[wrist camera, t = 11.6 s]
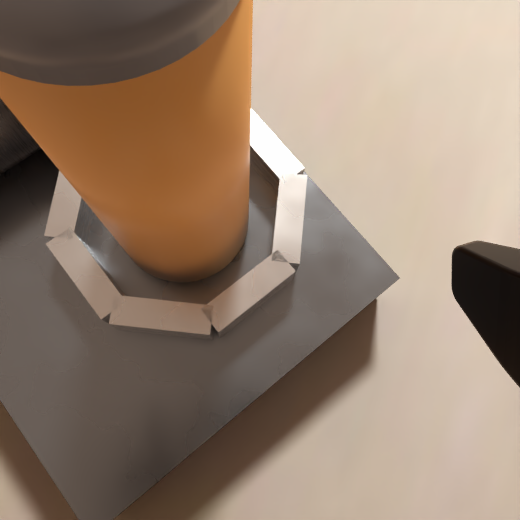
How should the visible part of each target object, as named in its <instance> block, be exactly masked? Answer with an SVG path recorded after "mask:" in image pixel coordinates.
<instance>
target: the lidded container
mask: <svg viewBox="0 0 520 520" xmlns="http://www.w3.org/2000/svg"><path fill="white" fill-rule="evenodd" d="M252 13H253V0H0V98H1V99H2V101H3V102H4V103H5V104H6V105H7V107H8V108H9V109H10V110H11V112H12V113H13V114H14V115H15V117H16V118H17V119H18V120H19V121H20V123H21V124H22V125H23V126H24V128H25V129H26V130H27V131H28V132H29V134H30V135H31V136H32V137H33V139H34V140H35V141H36V142H37V143H38V145H39V146H40V147H41V148H42V150H43V151H44V152H45V153H46V155H47V156H48V157H49V158H50V159H51V161H52V162H53V163H54V164H55V166H56V167H57V168H58V169H59V170H60V172H61V173H62V174H63V175H64V177H65V178H66V179H67V180H68V181H69V183H70V184H71V185H72V186H73V188H74V189H75V190H76V191H77V193H78V194H79V195H80V196H81V197H82V199H83V200H84V201H85V202H86V204H87V205H88V206H89V207H90V208H91V210H92V211H93V212H94V213H95V215H96V216H97V217H98V218H99V219H100V221H101V222H102V223H103V224H104V226H105V227H106V228H107V229H108V231H109V232H110V233H111V234H112V235H113V237H114V238H115V239H116V240H117V242H118V243H119V244H120V245H121V246H122V248H123V249H124V250H125V251H126V253H127V254H128V255H129V256H130V257H131V259H132V260H133V261H134V262H135V263H136V264H137V265H138V266H139V267H140V268H141V269H143V270H144V271H145V272H147V273H149V274H151V275H152V276H154V277H157V278H160V279H162V280H167V281H171V282H192V281H198V280H201V279H205V278H207V277H210V276H212V275H214V274H216V273H217V272H219V271H221V270H222V269H223V268H225V267H226V266H227V265H228V264H229V263H230V262H231V261H232V260H233V259H234V258H235V257H236V255H237V254H238V253H239V251H240V249H241V248H242V246H243V243H244V241H245V239H246V235H247V231H248V223H249V175H250V121H251V67H252Z"/></svg>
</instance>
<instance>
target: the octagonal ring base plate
mask: <svg viewBox="0 0 520 520" xmlns="http://www.w3.org/2000/svg"><path fill="white" fill-rule="evenodd" d="M304 169H305V168H304V167H303V165H302V164H301V163H300V162H299V161H298V160H297V159H296V158H295V157H294V155H293V154H292V153H291V152H290V151H289V150H288V149H287V148H286V147H285V145H284V144H283V143H282V142H281V141H280V140H279V139H278V138H277V137H276V135H275V134H274V133H273V132H272V131H271V130H270V129H269V128H268V127H267V125H266V124H265V123H264V122H263V121H262V120H261V119H260V118H259V117H258V115H257V114H256V113H255V112H254V111H253V110H252V109H251V121H250V175H249V223H248V231H247V235H246V239H245V241H244V243H243V246H242V248H241V249H240V251H239V253H238V254H237V255H236V257H235V258H234V259H233V260H232V261H231V262H230V263H229V264H228V265H227V266H226V267H225V268H223V269H222V270H221V271H219V272H217V273H216V274H214V275H212V276H210V277H207V278H205V279H201V280H198V281H192V282H171V281H167V280H162V279H160V278H157V277H154V276H152V275H151V274H149V273H147V272H145V271H144V270H143V269H141V268H140V267H139V266H138V265H137V264H136V263H135V262H134V261H133V260H132V259H131V257H130V256H129V255H128V254H127V253H126V251H125V250H124V249H123V248H122V246H121V245H120V244H119V243H118V242H117V240H116V239H115V238H114V237H113V235H112V234H111V233H110V232H109V231H108V229H107V228H106V227H105V226H104V224H103V223H102V222H101V221H100V219H99V218H98V217H97V216H96V215H95V213H94V212H93V211H92V210H91V208H90V207H89V206H88V205H87V204H86V202H85V201H84V200H83V199H82V197H81V196H80V195H79V194H78V193H77V191H76V190H75V189H74V188H73V186H72V185H71V184H70V183H69V181H68V180H67V179H66V178H65V177H64V175H63V174H62V173H61V172H60V170H59V169H58V168H57V167H56V166H55V164H54V163H53V162H52V161H51V159H50V158H49V157H48V156H47V155H46V153H45V152H44V151H43V150H42V148H41V147H40V146H39V145H38V143H37V142H36V141H35V140H34V139H33V137H32V136H31V135H30V134H29V132H28V131H27V130H26V129H25V128H24V126H23V125H22V124H21V123H20V121H19V120H18V119H17V118H16V117H15V115H14V114H13V113H12V112H11V110H10V109H9V108H8V107H7V105H6V104H5V103H4V102H3V101H2V99H1V98H0V401H1V402H2V404H3V405H4V407H5V408H6V410H7V411H8V413H9V414H10V416H11V417H12V419H13V420H14V422H15V424H16V425H17V427H18V428H19V430H20V431H21V433H22V434H23V436H24V437H25V439H26V440H27V442H28V443H29V445H30V446H31V448H32V449H33V451H34V452H35V454H36V456H37V457H38V459H39V460H40V462H41V463H42V465H43V466H44V468H45V469H46V471H47V472H48V474H49V475H50V477H51V478H52V480H53V481H54V483H55V484H56V486H57V488H58V489H59V491H60V492H61V494H62V495H63V497H64V498H65V500H66V501H67V503H68V504H69V506H70V507H71V509H72V510H73V512H74V513H75V515H76V516H77V518H78V520H113V519H114V518H115V517H117V516H118V515H119V514H120V513H121V512H122V511H124V510H125V509H126V508H127V507H128V506H130V505H131V504H132V503H133V502H134V501H136V500H137V499H138V498H139V497H140V496H142V495H143V494H144V493H145V492H146V491H147V490H149V489H150V488H151V487H152V486H153V485H155V484H156V483H157V482H158V481H159V480H161V479H162V478H163V477H164V476H165V475H166V474H168V473H169V472H170V471H171V470H172V469H174V468H175V467H176V466H177V465H178V464H180V463H181V462H182V461H183V460H184V459H185V458H187V457H188V456H189V455H190V454H191V453H193V452H194V451H195V450H196V449H197V448H199V447H200V446H201V445H202V444H203V443H204V442H206V441H207V440H208V439H209V438H210V437H212V436H213V435H214V434H215V433H216V432H218V431H219V430H220V429H221V428H222V427H223V426H225V425H226V424H227V423H228V422H229V421H231V420H232V419H233V418H234V417H235V416H237V415H238V414H239V413H240V412H241V411H243V410H244V409H245V408H246V407H247V406H248V405H250V404H251V403H252V402H253V401H254V400H256V399H257V398H258V397H259V396H260V395H262V394H263V393H264V392H265V391H266V390H267V389H269V388H270V387H271V386H272V385H273V384H275V383H276V382H277V381H278V380H279V379H281V378H282V377H283V376H284V375H285V374H286V373H288V372H289V371H290V370H291V369H292V368H294V367H295V366H296V365H297V364H298V363H300V362H301V361H302V360H303V359H304V358H305V357H307V356H308V355H309V354H310V353H311V352H313V351H314V350H315V349H316V348H317V347H319V346H320V345H321V344H322V343H323V342H324V341H326V340H327V339H328V338H329V337H330V336H332V335H333V334H334V333H335V332H336V331H338V330H339V329H340V328H341V327H342V326H344V325H345V324H346V323H347V322H348V321H349V320H351V319H352V318H353V317H354V316H355V315H357V314H358V313H359V312H360V311H361V310H363V309H364V308H365V307H366V306H367V305H368V304H370V303H371V302H372V301H373V300H374V299H376V298H377V297H378V296H379V295H380V294H382V293H383V292H384V291H385V290H386V289H387V288H389V287H390V286H391V285H392V284H393V283H395V282H396V281H397V280H398V279H399V277H398V275H397V274H396V273H395V272H394V271H393V270H392V269H391V268H390V267H389V265H388V264H387V263H386V262H385V261H384V260H383V259H382V258H381V256H380V255H379V254H378V253H377V252H376V251H375V250H374V249H373V248H372V246H371V245H370V244H369V243H368V242H367V241H366V240H365V239H364V238H363V236H362V235H361V234H360V233H359V232H358V231H357V230H356V229H355V227H354V226H353V225H352V224H351V223H350V222H349V221H348V220H347V219H346V217H345V216H344V215H343V214H342V213H341V212H340V211H339V210H338V209H337V207H336V206H335V205H334V204H333V203H332V202H331V201H330V200H329V199H328V197H327V196H326V195H325V194H324V193H323V192H322V191H321V190H320V188H319V187H318V186H317V185H316V184H315V183H314V182H313V181H312V180H311V178H310V177H309V176H308V175H307V174H306V173H305V172H304Z"/></svg>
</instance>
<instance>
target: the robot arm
mask: <svg viewBox="0 0 520 520" xmlns="http://www.w3.org/2000/svg"><path fill="white" fill-rule="evenodd" d="M452 292H453V295H454V297H455V299H456V301H457V302H458V304H459V305H460V307H461V308H462V310H463V311H464V312H465V314H466V315H467V317H468V318H469V320H470V321H471V323H472V324H473V326H474V327H475V328H476V330H477V331H478V333H479V334H480V336H481V337H482V339H483V340H484V341H485V343H486V344H487V346H488V347H489V349H490V350H491V352H492V353H493V355H494V356H495V357H496V359H497V360H498V361H499V363H500V364H501V365H502V367H503V368H504V369H505V371H506V372H507V373H508V374H509V375H510V377H511V378H512V379H513V380H514V381H515V383H516V384H517V385H518V386H519V387H520V249H517V248H512V247H507V246H502V245H497V244H493V243H488V242H483V241H473V242H470V243H466V244H463V245H460V246H457V247H456V248H455V249H454V250H453V253H452Z"/></svg>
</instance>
